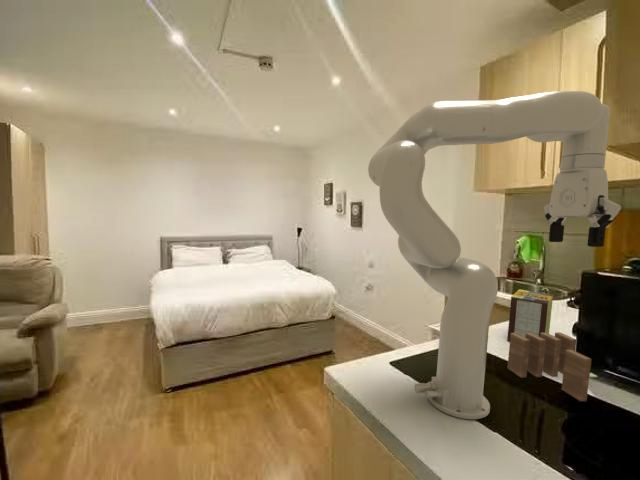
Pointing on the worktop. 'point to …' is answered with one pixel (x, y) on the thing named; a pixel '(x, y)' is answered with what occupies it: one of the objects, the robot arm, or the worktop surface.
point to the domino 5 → (576, 375)
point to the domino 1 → (518, 355)
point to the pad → (592, 375)
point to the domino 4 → (564, 348)
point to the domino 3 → (551, 354)
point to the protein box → (530, 313)
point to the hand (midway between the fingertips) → (574, 244)
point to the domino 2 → (536, 354)
